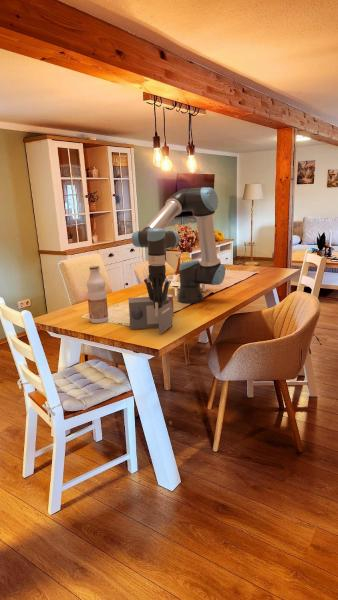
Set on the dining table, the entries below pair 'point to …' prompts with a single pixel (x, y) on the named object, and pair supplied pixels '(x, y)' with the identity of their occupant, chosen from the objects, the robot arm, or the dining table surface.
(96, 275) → the fruit juice
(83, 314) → the dining table surface
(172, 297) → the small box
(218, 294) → the dining table surface
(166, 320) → the side door
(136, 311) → the camera block
